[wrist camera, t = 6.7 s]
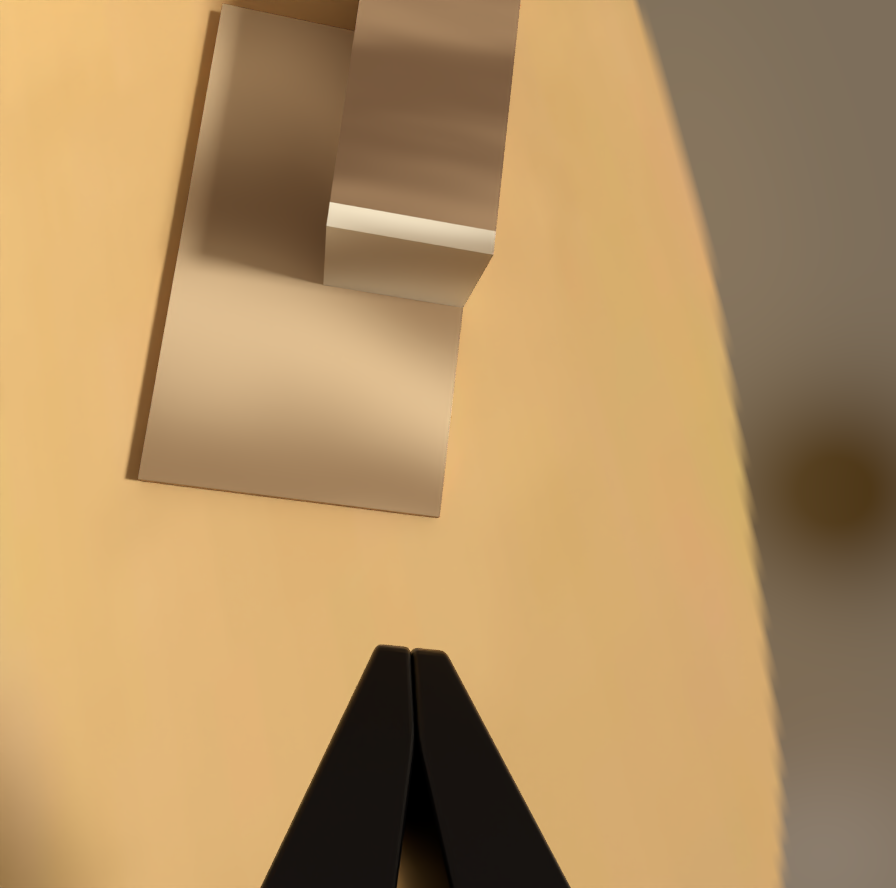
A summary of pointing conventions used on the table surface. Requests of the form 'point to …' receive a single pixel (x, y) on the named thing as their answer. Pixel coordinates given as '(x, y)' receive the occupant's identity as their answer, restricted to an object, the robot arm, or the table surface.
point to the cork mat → (290, 304)
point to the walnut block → (421, 148)
